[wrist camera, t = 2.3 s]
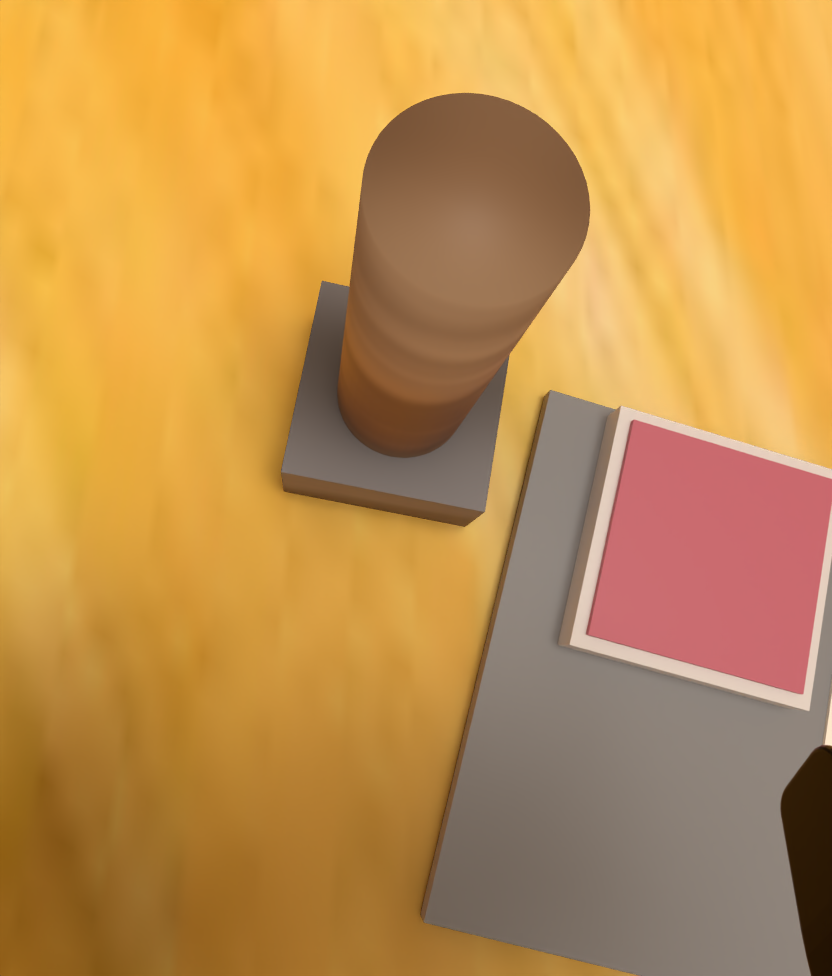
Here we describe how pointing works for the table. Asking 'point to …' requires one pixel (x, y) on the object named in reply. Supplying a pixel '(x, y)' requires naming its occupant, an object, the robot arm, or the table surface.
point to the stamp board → (644, 702)
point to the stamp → (434, 307)
